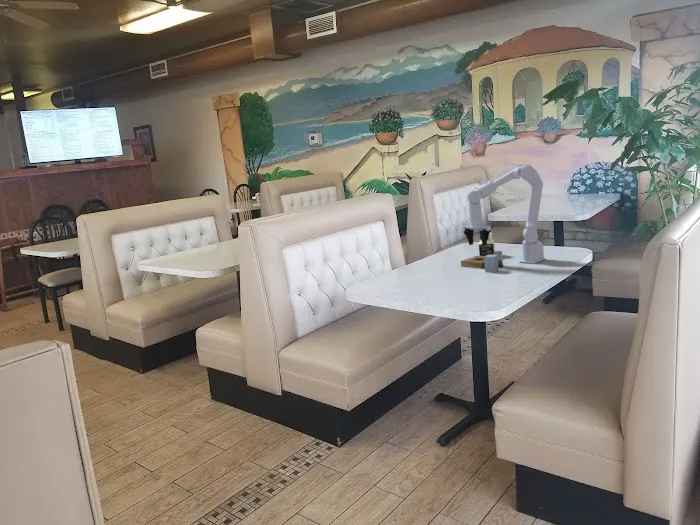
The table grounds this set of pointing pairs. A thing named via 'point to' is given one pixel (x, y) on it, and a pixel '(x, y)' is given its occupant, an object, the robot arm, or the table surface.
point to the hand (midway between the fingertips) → (477, 245)
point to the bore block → (474, 262)
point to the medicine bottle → (487, 246)
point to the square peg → (491, 263)
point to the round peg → (499, 258)
